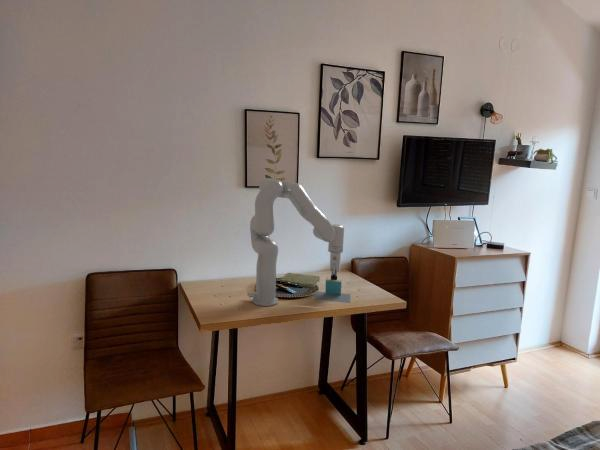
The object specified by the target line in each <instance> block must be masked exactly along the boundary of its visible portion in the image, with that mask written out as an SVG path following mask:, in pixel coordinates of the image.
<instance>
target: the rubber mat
mask: <svg viewBox="0 0 600 450" xmlns="http://www.w3.org/2000/svg"><path fill="white" fill-rule="evenodd" d="M351 295H352V294H351V293H341V295H333V294H325V291H316V292H315V294H314V298H313V300H315V301H325V302H326V301H328V302H338V303H351Z"/></svg>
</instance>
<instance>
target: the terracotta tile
mask: <svg viewBox="0 0 600 450" xmlns="http://www.w3.org/2000/svg"><path fill="white" fill-rule="evenodd" d="M324 292H325V294H333V295H341V294H342V280H341V279H337V280H331V279H327V278H326V279H325V291H324Z"/></svg>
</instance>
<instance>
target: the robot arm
mask: <svg viewBox="0 0 600 450" xmlns="http://www.w3.org/2000/svg"><path fill="white" fill-rule="evenodd" d="M258 187H259V191H258V193H257V195H256V198H255V201H254V215H253V216H252V217H251V220H250V221H249V222H250V223H249V228H250V229H249V231H250V232H249V233H250V240H251V241H250V242H251V247H252V249H253V251H254V252H255V253H256V254H257V261H256V272H255V273H256V277H255V280H256V281H255V291H254V292H252V291H248V292H247V296H248V298H252V303H253V304H255V305H257V306H259V307H260V306H261V307H269V306H270V307H271V306H275V305H277V304H278V303H279V298H278V297H276V293H277V292H276V291H277V289H276V287H277V261H278V256H279V246H278V244H277V243H276V241H275V240H273V239H272V238H270V236H271V235H272V234H273V233H274V231H275V219H274V203H275V201H276V199H277V198H281V199H288V200H290V202H291V204H292V205H293V207H294V208H295V209H296V211H297V212H298V213H299V215H300V216H301V218H303V219H304V220H306V222H308V223H309V224H311V225H312V226H313V229H312V233H313V236H314V237H315V238H317V239H320V240H321V241H323V242H327V243H328V247H327V252H328V253H330V254H329V256H330V257H329V270H330V272H331V275H330V280H338V273H340V272H341V259H342V258H341V256H342V255H341V254H342V253H343V252H344V251H343V250H344V239H345V237H344V235H345V227H344V226H343V225H342V224H331V223H330V221H329V219H328V218H327V217H326V216H325V214H323V213H322V211H321V210H320V209H319V208H318V207H317V206H316V204H315V203H314V202H313V200H312V199H311V198H310V196H309V194H308V193H307V191H306V190H305V188H304V187H303V186H302V185H301V183H297V182H294V181H293V182H292V181H285V180H280V179H276V178H270V177H266V178H263V179H262V180H261V181H260V182H259V185H258Z"/></svg>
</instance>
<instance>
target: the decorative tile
mask: <svg viewBox="0 0 600 450" xmlns="http://www.w3.org/2000/svg"><path fill="white" fill-rule="evenodd" d="M320 278H321V277H320V276H319V275H313V274H302V273H292V272H287V273H285V274H284V276H283V277H282V278H281V280H280V283H281V282H290V283H293V284H297V285H299V286H298V287H302V288H303V287H305V288H315V287H316V285H317V283H318V282H320Z"/></svg>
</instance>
